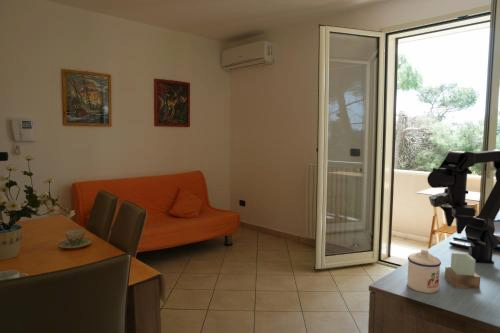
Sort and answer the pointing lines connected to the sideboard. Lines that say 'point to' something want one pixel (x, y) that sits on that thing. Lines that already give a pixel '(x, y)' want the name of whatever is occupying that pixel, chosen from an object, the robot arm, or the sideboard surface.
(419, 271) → the teacup with lid
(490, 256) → the robot arm
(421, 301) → the sideboard surface
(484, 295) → the sideboard surface
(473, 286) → the walnut block
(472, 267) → the green cube
